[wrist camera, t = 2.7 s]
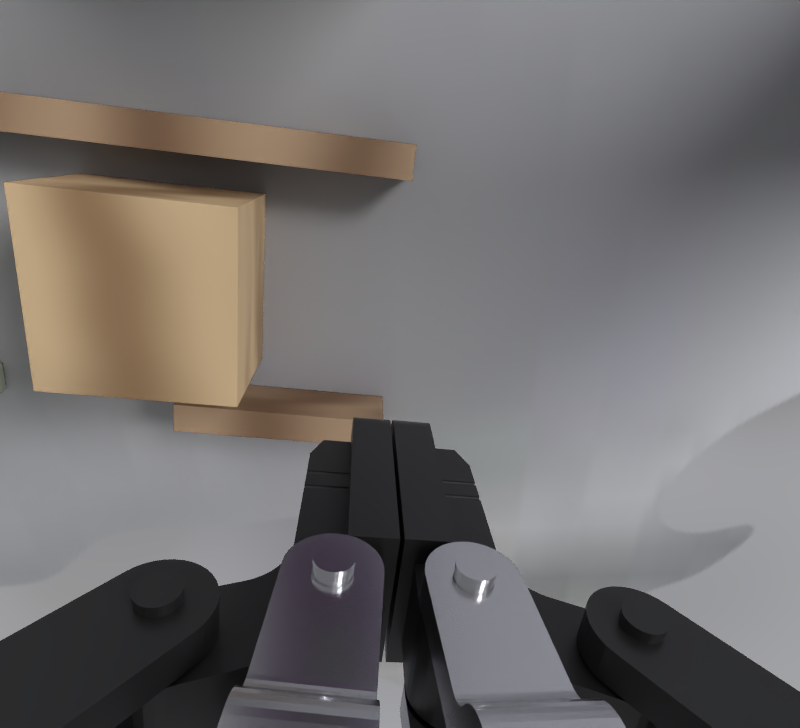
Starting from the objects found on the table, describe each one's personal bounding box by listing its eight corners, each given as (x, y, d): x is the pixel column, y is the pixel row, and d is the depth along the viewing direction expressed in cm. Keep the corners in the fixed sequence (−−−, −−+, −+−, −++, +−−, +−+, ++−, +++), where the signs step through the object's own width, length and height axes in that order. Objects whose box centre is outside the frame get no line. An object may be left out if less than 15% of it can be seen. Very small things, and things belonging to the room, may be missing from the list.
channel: (411, 144, 21) (420, 144, 18) (379, 419, 26) (380, 466, 22) (-237, 61, 20) (-381, 43, 16) (-153, 374, 24) (-250, 417, 20)
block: (266, 193, 22) (237, 207, 17) (262, 357, 25) (237, 407, 20) (83, 173, 22) (3, 182, 17) (99, 342, 24) (33, 390, 19)
